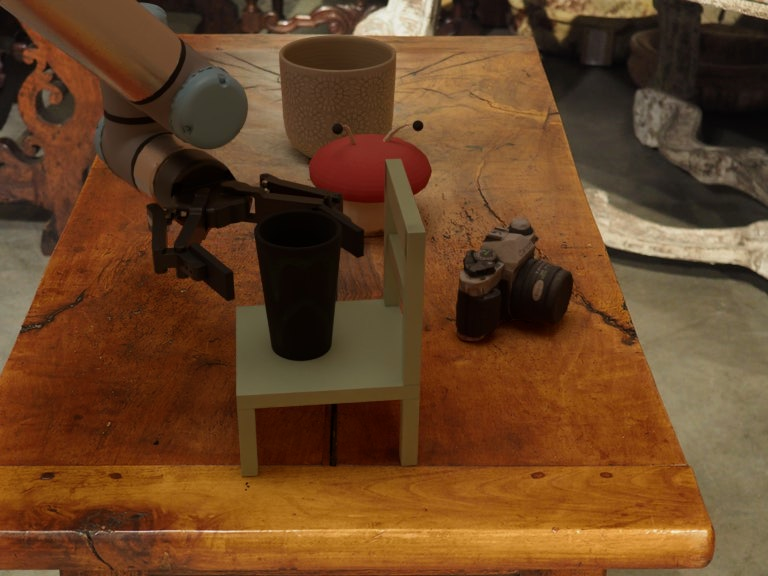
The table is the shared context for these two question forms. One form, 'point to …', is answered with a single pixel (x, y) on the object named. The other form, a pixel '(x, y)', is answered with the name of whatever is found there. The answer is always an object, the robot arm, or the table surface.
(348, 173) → the mushroom
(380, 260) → the table surface
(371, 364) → the chair
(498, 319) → the camera
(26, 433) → the table surface
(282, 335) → the cup
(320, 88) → the planter
